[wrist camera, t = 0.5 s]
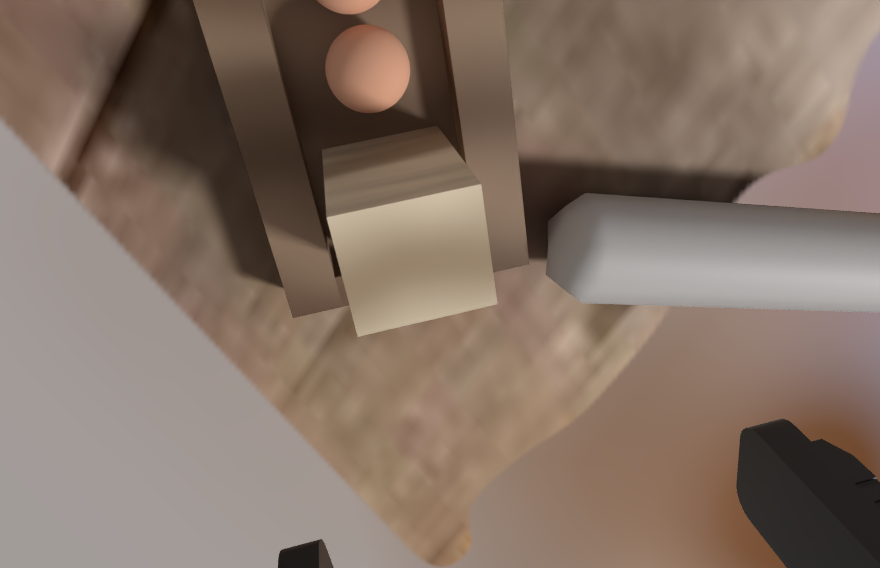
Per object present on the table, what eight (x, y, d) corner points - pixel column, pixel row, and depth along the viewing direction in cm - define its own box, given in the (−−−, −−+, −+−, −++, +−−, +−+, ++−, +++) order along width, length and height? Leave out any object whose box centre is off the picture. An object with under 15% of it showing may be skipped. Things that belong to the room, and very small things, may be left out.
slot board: (177, -88, 23) (163, -92, 21) (471, -138, 24) (487, -148, 22) (294, 292, 31) (293, 318, 29) (514, 242, 32) (529, 263, 30)
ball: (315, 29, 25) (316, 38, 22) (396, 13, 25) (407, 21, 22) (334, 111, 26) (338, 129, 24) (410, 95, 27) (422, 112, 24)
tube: (545, 328, 30) (978, 337, 35) (583, 241, 26) (1062, 266, 31) (520, 249, 33) (916, 269, 39) (551, 164, 30) (983, 198, 35)
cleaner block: (322, 149, 27) (326, 217, 20) (437, 125, 27) (481, 184, 20) (346, 245, 29) (358, 336, 22) (452, 221, 30) (497, 303, 23)
